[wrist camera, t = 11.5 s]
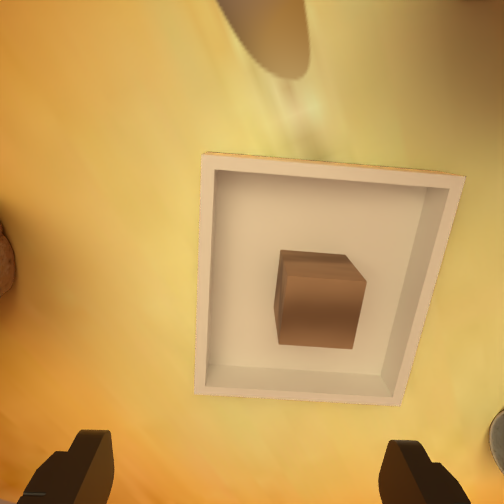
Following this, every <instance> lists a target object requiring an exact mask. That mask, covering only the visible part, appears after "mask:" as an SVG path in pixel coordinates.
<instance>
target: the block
mask: <svg viewBox="0 0 504 504" xmlns="http://www.w3.org/2000/svg"><path fill="white" fill-rule="evenodd" d="M2 229H3V227H2V225H1V223H0V298H1V296H2V295H3V293H4V292H6V291H8V290H9V289H10V288H11V286H12V284H13V282H14V276H15V265H14V255H13V250H12V248H11V246H10V244H9V242H8V240H7V238H6V237H5V236H4V235H3V234H2Z"/></svg>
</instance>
